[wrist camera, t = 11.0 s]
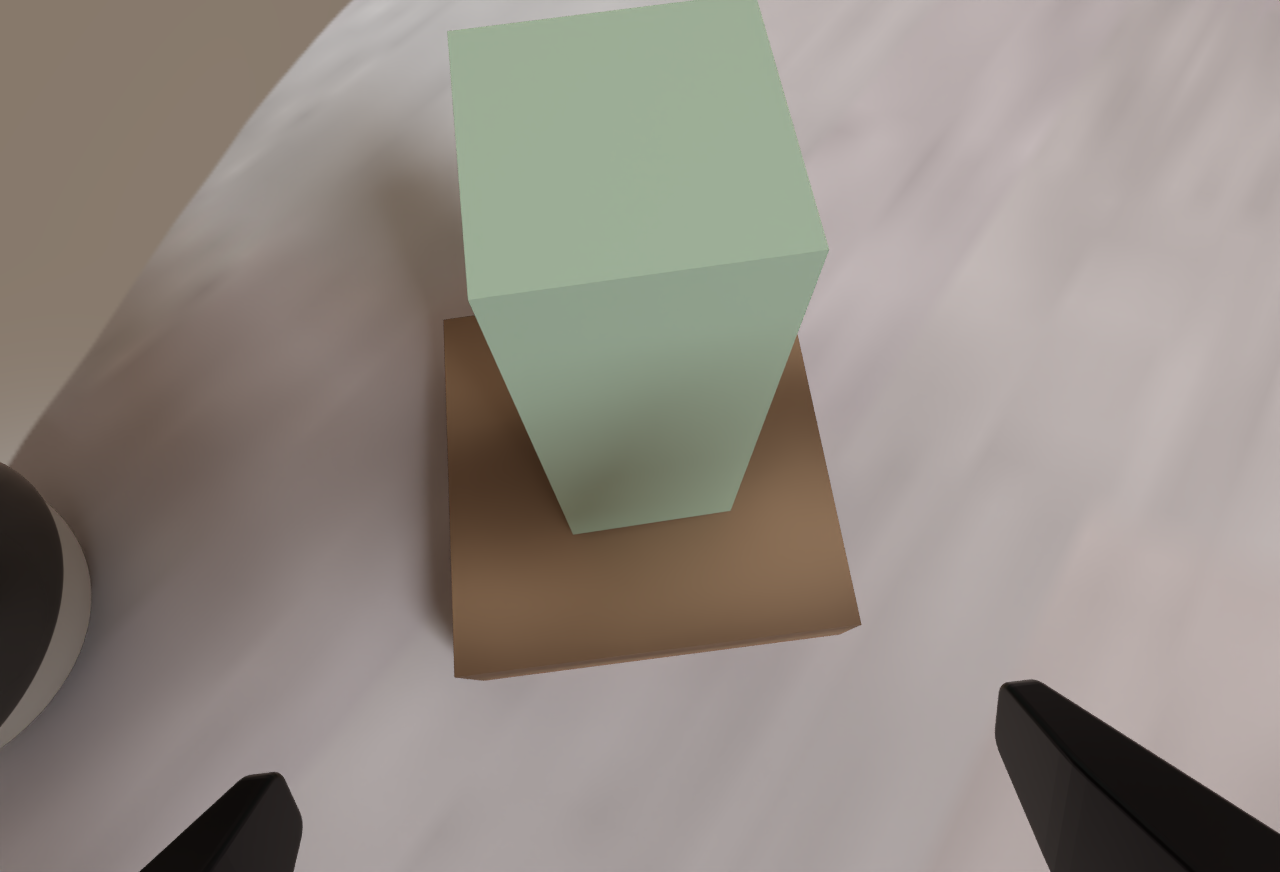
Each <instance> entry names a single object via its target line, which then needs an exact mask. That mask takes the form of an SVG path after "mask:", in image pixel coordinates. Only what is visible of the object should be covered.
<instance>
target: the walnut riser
mask: <svg viewBox="0 0 1280 872" xmlns="http://www.w3.org/2000/svg"><path fill="white" fill-rule="evenodd" d="M444 352H445V384H446V417H447V450H448V482H449V515H450V547H451V580H452V612H453V645H454V677H455V678H464V679H473V680H483V681H484V680H492V679H500V678H508V677H515V676H523V675H531V674H538V673H546V672H554V671H562V670H569V669H577V668H585V667H592V666H600V665H608V664H615V663H623V662H631V661H639V660H646V659H654V658H662V657H669V656H677V655H685V654H693V653H700V652H708V651H716V650H723V649H731V648H739V647H746V646H754V645H762V644H770V643H777V642H785V641H793V640H800V639H808V638H816V637H824V636H831V635H839V634H842V633H844V632H846V631H848V630H850V629H853V628H855V627H857V626H859V625H861V621H860V616H859V612H858V607H857V603H856V598H855V593H854V589H853V584H852V580H851V575H850V571H849V566H848V562H847V557H846V553H845V548H844V543H843V539H842V534H841V530H840V525H839V521H838V516H837V512H836V507H835V503H834V498H833V494H832V489H831V484H830V480H829V475H828V471H827V466H826V462H825V457H824V453H823V448H822V444H821V439H820V434H819V430H818V425H817V421H816V416H815V412H814V407H813V403H812V398H811V394H810V389H809V385H808V380H807V375H806V371H805V366H804V362H803V357H802V353H801V348H800V344H799V339H798V335H797V336H796V339H795V341H794V344H793V347H792V349H791V352H790V355H789V357H788V360H787V362H786V365H785V368H784V370H783V373H782V376H781V378H780V381H779V384H778V386H777V389H776V392H775V394H774V397H773V400H772V402H771V405H770V408H769V410H768V413H767V415H766V418H765V421H764V423H763V426H762V429H761V431H760V434H759V437H758V439H757V442H756V445H755V447H754V450H753V453H752V455H751V458H750V461H749V463H748V466H747V469H746V471H745V474H744V476H743V479H742V482H741V484H740V487H739V490H738V492H737V495H736V498H735V500H734V503H733V506H732V508H731V511H726V512H719V513H713V514H706V515H700V516H693V517H686V518H680V519H673V520H667V521H660V522H654V523H647V524H640V525H634V526H627V527H621V528H614V529H607V530H601V531H594V532H588V533H581V534H574V535H573V533H572V531H571V529H570V526H569V524H568V522H567V520H566V518H565V515H564V513H563V511H562V509H561V506H560V504H559V502H558V500H557V497H556V495H555V493H554V491H553V489H552V486H551V484H550V482H549V480H548V477H547V475H546V473H545V471H544V468H543V466H542V464H541V462H540V460H539V457H538V455H537V453H536V451H535V448H534V446H533V444H532V442H531V439H530V437H529V435H528V433H527V431H526V428H525V426H524V424H523V422H522V419H521V417H520V415H519V413H518V410H517V408H516V406H515V404H514V402H513V399H512V397H511V395H510V393H509V390H508V388H507V386H506V384H505V381H504V379H503V377H502V375H501V373H500V370H499V368H498V366H497V364H496V361H495V359H494V357H493V355H492V352H491V350H490V348H489V346H488V344H487V341H486V339H485V337H484V335H483V332H482V330H481V328H480V326H479V323H478V321H477V319H476V317H475V316H467V317H460V318H453V319H446V320H444Z"/></svg>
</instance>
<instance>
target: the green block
mask: <svg viewBox="0 0 1280 872" xmlns="http://www.w3.org/2000/svg"><path fill="white" fill-rule="evenodd" d="M447 34H448V47H449V60H450V73H451V86H452V99H453V112H454V125H455V138H456V151H457V164H458V177H459V190H460V203H461V216H462V229H463V242H464V255H465V268H466V281H467V294H468V301H469V303H470V306H471V308H472V310H473V312H474V315H475V317H476V319H477V321H478V323H479V326H480V328H481V330H482V332H483V335H484V337H485V339H486V341H487V344H488V346H489V348H490V350H491V352H492V355H493V357H494V359H495V361H496V364H497V366H498V368H499V370H500V373H501V375H502V377H503V379H504V381H505V384H506V386H507V388H508V390H509V393H510V395H511V397H512V399H513V402H514V404H515V406H516V408H517V410H518V413H519V415H520V417H521V419H522V422H523V424H524V426H525V428H526V431H527V433H528V435H529V437H530V439H531V442H532V444H533V446H534V448H535V451H536V453H537V455H538V457H539V460H540V462H541V464H542V466H543V468H544V471H545V473H546V475H547V477H548V480H549V482H550V484H551V486H552V489H553V491H554V493H555V495H556V497H557V500H558V502H559V504H560V506H561V509H562V511H563V513H564V515H565V518H566V520H567V522H568V524H569V526H570V529H571V531H572V533H573V535H574V534H581V533H588V532H594V531H601V530H607V529H614V528H621V527H627V526H634V525H640V524H647V523H654V522H660V521H667V520H673V519H680V518H686V517H693V516H700V515H706V514H713V513H719V512H726V511H731V508H732V506H733V503H734V500H735V498H736V495H737V492H738V490H739V487H740V484H741V482H742V479H743V476H744V474H745V471H746V469H747V466H748V463H749V461H750V458H751V455H752V453H753V450H754V447H755V445H756V442H757V439H758V437H759V434H760V431H761V429H762V426H763V423H764V421H765V418H766V415H767V413H768V410H769V408H770V405H771V402H772V400H773V397H774V394H775V392H776V389H777V386H778V384H779V381H780V378H781V376H782V373H783V370H784V368H785V365H786V362H787V360H788V357H789V355H790V352H791V349H792V347H793V344H794V341H795V339H796V336H797V333H798V331H799V328H800V325H801V323H802V320H803V317H804V315H805V312H806V309H807V307H808V304H809V302H810V299H811V296H812V294H813V291H814V288H815V286H816V283H817V280H818V278H819V275H820V272H821V270H822V267H823V264H824V262H825V259H826V256H827V254H828V251H829V248H828V244H827V241H826V237H825V234H824V230H823V227H822V224H821V220H820V217H819V213H818V210H817V206H816V203H815V199H814V196H813V192H812V189H811V185H810V182H809V178H808V175H807V171H806V168H805V165H804V161H803V158H802V154H801V151H800V147H799V144H798V140H797V137H796V133H795V130H794V126H793V123H792V119H791V116H790V112H789V109H788V106H787V102H786V99H785V95H784V92H783V88H782V85H781V81H780V78H779V74H778V71H777V67H776V64H775V60H774V57H773V53H772V50H771V47H770V43H769V40H768V36H767V33H766V29H765V26H764V22H763V19H762V15H761V12H760V8H759V5H758V1H757V0H693V1H685V2H677V3H669V4H661V5H653V6H645V7H637V8H629V9H621V10H614V11H606V12H598V13H590V14H582V15H574V16H566V17H558V18H550V19H542V20H534V21H526V22H518V23H510V24H502V25H494V26H486V27H478V28H470V29H462V30H454V31H447Z"/></svg>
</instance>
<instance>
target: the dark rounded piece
mask: <svg viewBox="0 0 1280 872" xmlns="http://www.w3.org/2000/svg"><path fill="white" fill-rule="evenodd" d="M90 613H91V582H90V574H89V570H88V566H87V562H86V559H85V556H84V554H83V551H82V548H81V546H80V544H79V543H78V541H77V539H76V537H75V535H74V533H73V532H72V531H71V529H70V528H69V526H68V525H67V524H66V522H65V521H64V520H63V519H62V517H61V516H60V515H59V514H58V513H57V512H56V511H55V510H54V509H53V508H52V507H51V506H50V505H49V504H48V503H46V502H45V501H44V500H43V498H42V497H41V495H40V494H39V493H38V491H37V490H36V489H35V488H34V487H33V486H32V485H31V484H30V483H29V482H28V481H27V480H26V479H25V478H24V477H23V476H21V475H20V474H19V473H17V472H16V471H15V470H13V469H12V468H10V467H8V466H6V465H5V464H3V463H0V748H2V747H3V746H4V745H6V744H7V743H8V742H10V741H11V740H12V739H14V738H15V737H16V736H17V735H18V734H19V733H20V732H22V731H23V730H24V729H25V728H26V727H27V726H28V725H29V724H30V723H31V722H32V721H33V720H34V719H35V718H36V717H37V716H38V715H39V714H40V713H41V712H42V711H43V710H44V708H45V707H46V706H47V705H48V704H49V703H50V701H51V700H52V699H53V697H54V696H55V695H56V693H57V692H58V691H59V689H60V688H61V686H62V685H63V683H64V682H65V680H66V679H67V677H68V675H69V674H70V672H71V670H72V668H73V666H74V664H75V662H76V660H77V658H78V655H79V653H80V651H81V648H82V645H83V642H84V640H85V637H86V633H87V629H88V625H89V619H90Z"/></svg>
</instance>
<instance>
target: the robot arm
mask: <svg viewBox="0 0 1280 872" xmlns="http://www.w3.org/2000/svg"><path fill="white" fill-rule="evenodd" d="M995 739H996V744H997V747H998V750H999V753H1000V755H1001V758H1002V760H1003V762H1004V765H1005V767H1006V769H1007V772H1008V774H1009V776H1010V779H1011V781H1012V783H1013V786H1014V788H1015V791H1016V793H1017V795H1018V798H1019V800H1020V802H1021V805H1022V807H1023V809H1024V812H1025V814H1026V816H1027V819H1028V821H1029V823H1030V826H1031V828H1032V830H1033V833H1034V835H1035V837H1036V840H1037V842H1038V844H1039V847H1040V849H1041V851H1042V854H1043V856H1044V858H1045V861H1046V863H1047V865H1048V867H1049V869H1050V872H1280V834H1279V833H1278V832H1276V831H1275V830H1273V829H1272V828H1270V827H1268V826H1267V825H1265V824H1264V823H1262V822H1261V821H1259V820H1257V819H1256V818H1254V817H1253V816H1251V815H1250V814H1248V813H1246V812H1245V811H1243V810H1242V809H1240V808H1239V807H1237V806H1235V805H1234V804H1232V803H1231V802H1229V801H1228V800H1226V799H1224V798H1223V797H1221V796H1220V795H1218V794H1217V793H1215V792H1213V791H1212V790H1210V789H1209V788H1207V787H1206V786H1204V785H1202V784H1201V783H1199V782H1198V781H1196V780H1195V779H1193V778H1191V777H1190V776H1188V775H1187V774H1185V773H1184V772H1182V771H1180V770H1179V769H1177V768H1176V767H1174V766H1173V765H1171V764H1169V763H1168V762H1166V761H1165V760H1163V759H1162V758H1160V757H1158V756H1157V755H1155V754H1154V753H1152V752H1151V751H1149V750H1147V749H1146V748H1144V747H1143V746H1141V745H1140V744H1138V743H1136V742H1135V741H1133V740H1132V739H1130V738H1129V737H1127V736H1125V735H1124V734H1122V733H1121V732H1119V731H1117V730H1116V729H1114V728H1113V727H1111V726H1110V725H1108V724H1106V723H1105V722H1103V721H1102V720H1100V719H1099V718H1097V717H1095V716H1094V715H1092V714H1091V713H1089V712H1088V711H1086V710H1084V709H1083V708H1081V707H1080V706H1078V705H1077V704H1075V703H1073V702H1072V701H1070V700H1069V699H1067V698H1066V697H1064V696H1062V695H1061V694H1059V693H1058V692H1056V691H1055V690H1053V689H1051V688H1050V687H1048V686H1047V685H1045V684H1044V683H1042V682H1040V681H1037V680H1032V679H1031V680H1022V681H1014V682H1006V683H1004V684H1003V685H1002V686H1001V687H1000V690H999V696H998V705H997V715H996V724H995ZM302 828H303V826H302V817H301V814H300V811H299V809H298V807H297V805H296V803H295V800H294V798H293V796H292V794H291V792H290V790H289V787H288V785H287V783H286V781H285V779H284V777H283V776H282V775H281V774H279V773H278V772H269V773H261V774H253V775H248V776H245V777H244V778H242V779H241V780H239V781H238V782H237V783H236V784H235V785H234V786H233V787H231V788H230V789H229V790H228V791H227V792H226V793H225V794H224V795H223V796H222V797H221V798H219V799H218V800H217V801H216V802H215V803H214V804H213V805H212V806H211V807H210V808H209V809H207V810H206V811H205V812H204V813H203V814H202V815H201V816H200V817H199V818H198V819H196V820H195V821H194V822H193V823H192V824H191V825H190V826H189V827H188V828H187V829H186V830H184V831H183V832H182V833H181V834H180V835H179V836H178V837H177V838H176V839H175V840H174V841H172V842H171V843H170V844H169V845H168V846H167V847H166V848H165V849H164V850H163V851H162V852H160V853H159V854H158V855H157V856H156V857H155V858H154V859H153V860H152V861H151V862H150V863H148V864H147V865H146V866H145V867H144V868H143V869H142V870H141V871H140V872H294V867H295V863H296V859H297V854H298V850H299V846H300V841H301V837H302Z"/></svg>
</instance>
